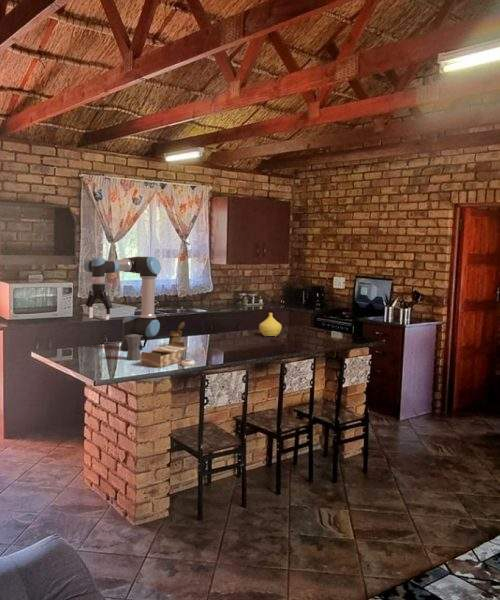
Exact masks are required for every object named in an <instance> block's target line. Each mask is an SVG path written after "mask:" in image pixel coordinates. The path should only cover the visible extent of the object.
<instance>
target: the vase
mask: <svg viewBox="0 0 500 600" xmlns="http://www.w3.org/2000/svg"><path fill="white" fill-rule="evenodd" d="M258 327H259V331H260V333H261V334H262V336H264V337H266V336H275V337H277V336H278V335H280V333H281V331H282V324H281V323H280V322H278V321H277V320H276V319H275V318H274V317H273V312H268V317H267V318H266V319H265V320H264V321H262V322H261V323H260V324H259V325H258Z"/></svg>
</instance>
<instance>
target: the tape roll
mask: <svg viewBox="0 0 500 600" xmlns="http://www.w3.org/2000/svg"><path fill="white" fill-rule="evenodd" d="M180 363H181V366H182V367H193V366H195V365H196V364H195V363H196V362H195V360H194V359H183V360H180Z"/></svg>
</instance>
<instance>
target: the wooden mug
mask: <svg viewBox="0 0 500 600" xmlns="http://www.w3.org/2000/svg"><path fill="white" fill-rule="evenodd" d="M185 326H186V323H185V321H182V322H180V323H179V325H178V327H177V330H176V331H175V330H172V331H170V332H169V335H168V337H169V339H168V345H172V341H177V342H181V341H180V340H181V338H182V334H183V333H182V330H183V329H184V328H185ZM168 345H167V346H168Z"/></svg>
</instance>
